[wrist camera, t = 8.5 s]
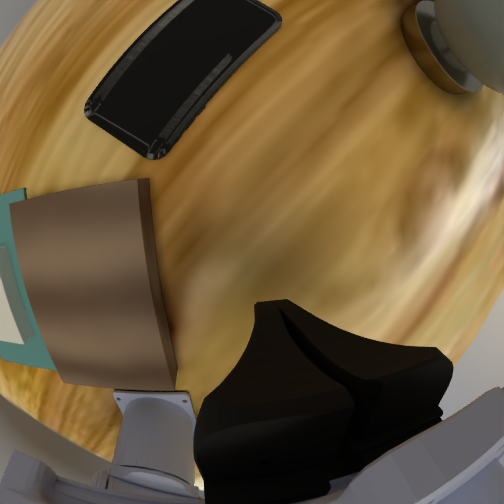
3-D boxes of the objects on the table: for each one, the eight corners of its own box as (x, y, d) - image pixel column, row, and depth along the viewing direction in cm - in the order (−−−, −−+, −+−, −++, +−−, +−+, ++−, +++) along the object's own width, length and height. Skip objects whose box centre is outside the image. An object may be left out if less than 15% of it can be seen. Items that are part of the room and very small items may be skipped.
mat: (73, 370, 21) (72, 372, 20) (3, 358, 19) (2, 359, 19) (25, 187, 16) (23, 188, 15) (-40, 209, 14) (-42, 209, 14)
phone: (78, 112, 14) (209, -23, 12) (85, 115, 15) (208, -16, 13) (157, 166, 16) (289, 19, 14) (161, 166, 18) (286, 25, 15)
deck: (177, 367, 22) (174, 390, 19) (74, 363, 20) (63, 382, 18) (148, 178, 17) (137, 179, 14) (30, 198, 16) (9, 203, 13)
